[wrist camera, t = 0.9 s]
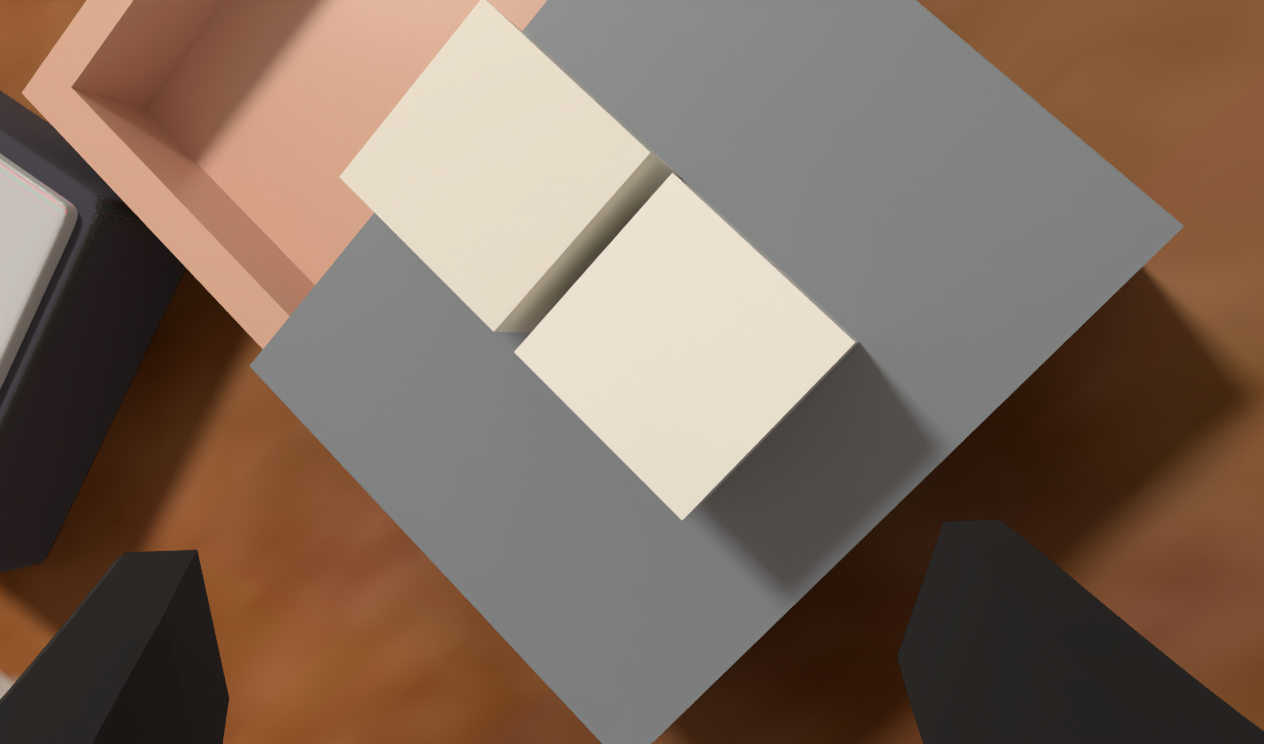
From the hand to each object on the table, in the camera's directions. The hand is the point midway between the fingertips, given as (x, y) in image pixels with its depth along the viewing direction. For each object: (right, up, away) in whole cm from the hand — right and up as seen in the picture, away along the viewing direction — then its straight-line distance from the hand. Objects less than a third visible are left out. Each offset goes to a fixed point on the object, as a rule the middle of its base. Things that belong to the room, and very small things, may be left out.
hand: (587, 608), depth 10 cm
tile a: (+2, +3, +9) cm, 9 cm away
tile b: (-1, +6, +9) cm, 11 cm away
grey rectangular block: (+2, +4, +13) cm, 13 cm away
